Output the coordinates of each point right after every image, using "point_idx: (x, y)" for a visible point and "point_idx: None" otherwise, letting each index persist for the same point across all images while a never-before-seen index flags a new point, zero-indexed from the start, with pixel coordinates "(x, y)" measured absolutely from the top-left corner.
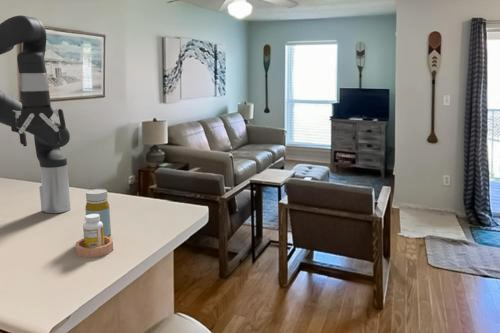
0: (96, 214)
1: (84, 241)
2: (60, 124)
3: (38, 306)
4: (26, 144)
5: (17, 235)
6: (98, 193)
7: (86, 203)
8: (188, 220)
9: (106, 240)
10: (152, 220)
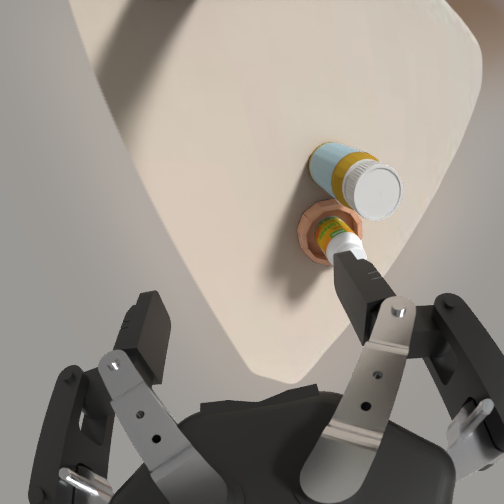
0: (361, 254)
1: (318, 244)
2: (431, 373)
3: (280, 364)
4: (161, 307)
5: (146, 133)
6: (384, 217)
7: (339, 188)
8: (464, 109)
9: (349, 213)
10: (416, 85)
